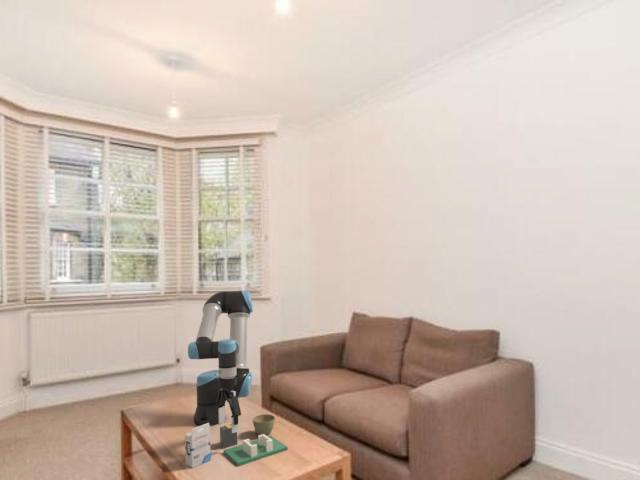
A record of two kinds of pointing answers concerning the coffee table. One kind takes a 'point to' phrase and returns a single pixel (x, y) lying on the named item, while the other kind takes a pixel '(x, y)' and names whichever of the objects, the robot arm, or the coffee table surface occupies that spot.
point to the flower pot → (264, 424)
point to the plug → (227, 436)
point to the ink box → (197, 446)
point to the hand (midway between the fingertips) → (228, 427)
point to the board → (254, 450)
